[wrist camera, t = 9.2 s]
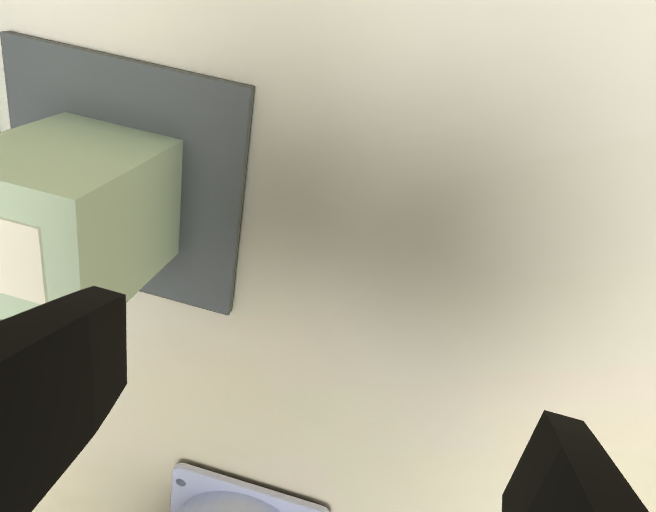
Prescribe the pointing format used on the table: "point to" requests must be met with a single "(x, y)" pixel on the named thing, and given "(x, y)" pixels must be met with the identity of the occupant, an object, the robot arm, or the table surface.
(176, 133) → the mat
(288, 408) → the table surface
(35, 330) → the robot arm
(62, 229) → the pale green box
